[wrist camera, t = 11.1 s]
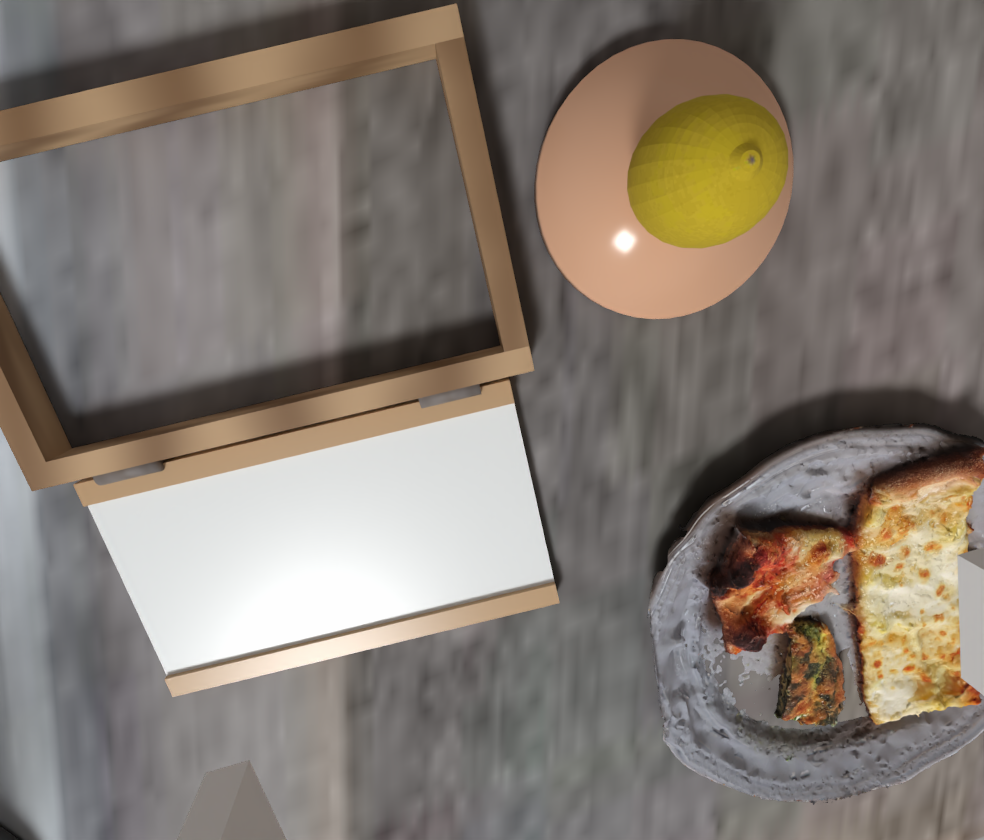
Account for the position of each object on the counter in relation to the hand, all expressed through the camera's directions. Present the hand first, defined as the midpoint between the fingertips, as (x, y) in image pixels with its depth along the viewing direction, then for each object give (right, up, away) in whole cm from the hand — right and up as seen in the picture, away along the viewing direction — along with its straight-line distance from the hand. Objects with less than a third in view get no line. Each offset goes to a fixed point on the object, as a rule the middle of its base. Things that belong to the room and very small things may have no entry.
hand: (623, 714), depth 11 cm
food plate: (+18, -6, +25) cm, 32 cm away
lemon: (+6, +16, +17) cm, 24 cm away
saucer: (+6, +16, +17) cm, 25 cm away
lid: (-11, -1, +21) cm, 24 cm away
